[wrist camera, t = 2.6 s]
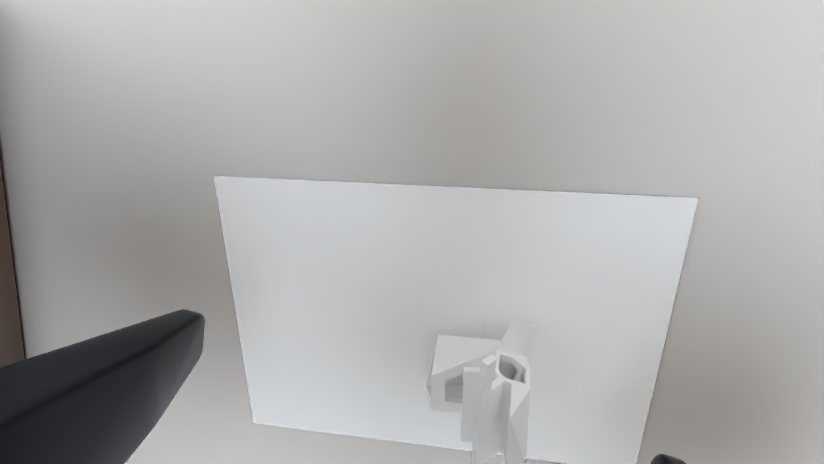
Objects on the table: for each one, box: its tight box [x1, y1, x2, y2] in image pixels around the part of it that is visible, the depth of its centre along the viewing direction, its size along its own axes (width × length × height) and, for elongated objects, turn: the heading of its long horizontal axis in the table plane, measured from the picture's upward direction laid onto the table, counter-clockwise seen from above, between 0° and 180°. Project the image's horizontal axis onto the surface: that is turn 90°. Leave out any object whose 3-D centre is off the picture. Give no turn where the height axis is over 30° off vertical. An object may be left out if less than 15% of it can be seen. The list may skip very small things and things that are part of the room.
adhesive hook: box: [423, 320, 545, 464], centre depth 10 cm, size 3×3×3 cm
